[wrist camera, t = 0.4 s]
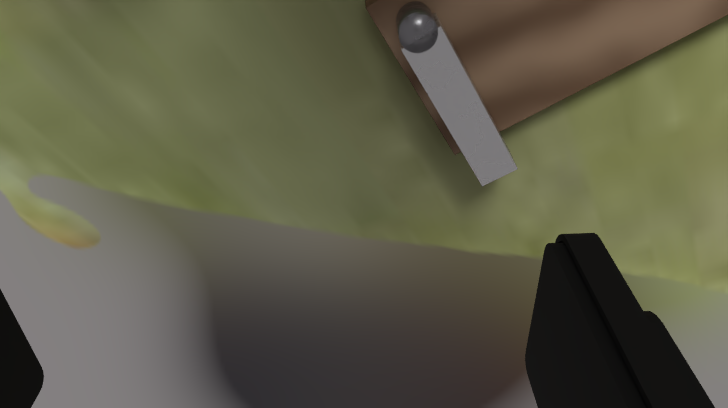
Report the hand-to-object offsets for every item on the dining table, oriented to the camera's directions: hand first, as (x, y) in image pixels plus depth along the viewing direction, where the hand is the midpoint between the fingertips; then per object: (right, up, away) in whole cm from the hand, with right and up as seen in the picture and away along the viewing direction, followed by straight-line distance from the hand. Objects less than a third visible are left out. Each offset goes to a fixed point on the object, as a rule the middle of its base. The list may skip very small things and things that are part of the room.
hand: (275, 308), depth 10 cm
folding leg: (+8, +11, +33) cm, 36 cm away
